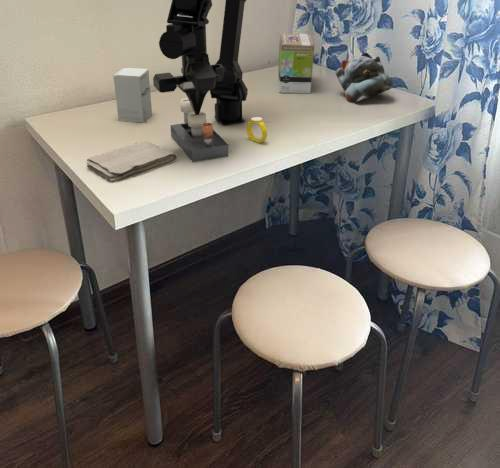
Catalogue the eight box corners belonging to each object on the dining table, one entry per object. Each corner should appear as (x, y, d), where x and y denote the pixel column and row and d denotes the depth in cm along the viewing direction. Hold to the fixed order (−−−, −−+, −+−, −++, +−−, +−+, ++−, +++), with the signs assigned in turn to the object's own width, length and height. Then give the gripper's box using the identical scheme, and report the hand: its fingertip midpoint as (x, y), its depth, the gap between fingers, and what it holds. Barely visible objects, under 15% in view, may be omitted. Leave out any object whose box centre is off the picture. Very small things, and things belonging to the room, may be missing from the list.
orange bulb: (211, 142, 137) (210, 122, 134) (214, 146, 135) (214, 125, 133) (201, 143, 136) (200, 123, 134) (205, 147, 134) (204, 127, 132)
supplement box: (143, 123, 156) (139, 76, 149) (117, 120, 157) (112, 74, 150) (153, 113, 162) (149, 68, 155) (128, 111, 163) (123, 66, 156)
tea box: (311, 93, 177) (314, 44, 169) (278, 93, 177) (280, 44, 169) (308, 79, 190) (311, 32, 182) (277, 78, 190) (279, 32, 182)
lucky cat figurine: (346, 105, 168) (334, 58, 166) (342, 108, 180) (331, 63, 178) (397, 90, 166) (385, 42, 165) (390, 94, 178) (379, 49, 177)
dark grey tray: (204, 131, 151) (204, 120, 149) (228, 156, 138) (228, 144, 136) (171, 136, 148) (170, 125, 146) (192, 162, 135) (191, 150, 133)
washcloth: (83, 169, 132) (81, 156, 131) (148, 147, 143) (147, 135, 141) (112, 186, 125) (111, 173, 124) (178, 162, 136) (177, 150, 134)
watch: (245, 140, 147) (243, 117, 144) (252, 137, 148) (252, 114, 146) (261, 145, 143) (260, 122, 140) (269, 142, 145) (268, 119, 142)
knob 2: (203, 131, 144) (202, 110, 141) (209, 138, 141) (208, 116, 138) (186, 134, 143) (185, 112, 140) (192, 140, 139) (190, 118, 136)
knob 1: (195, 117, 148) (194, 95, 145) (201, 123, 144) (200, 101, 141) (179, 119, 146) (177, 98, 143) (184, 125, 143) (183, 103, 140)
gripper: (163, 61, 121) (169, 131, 130) (245, 52, 128) (245, 120, 136) (149, 48, 130) (155, 115, 138) (227, 41, 136) (228, 105, 145)
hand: (196, 114), depth 139 cm, fingers closed, pressing on knob 2
